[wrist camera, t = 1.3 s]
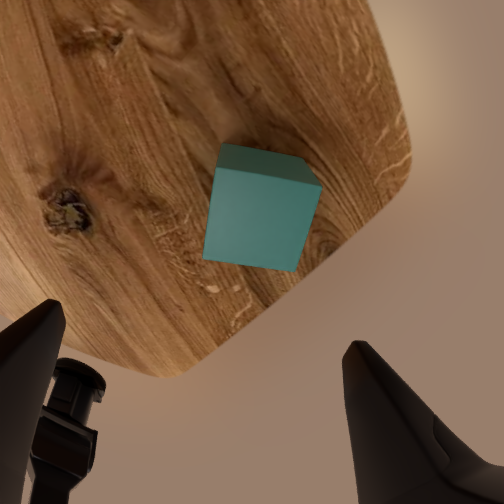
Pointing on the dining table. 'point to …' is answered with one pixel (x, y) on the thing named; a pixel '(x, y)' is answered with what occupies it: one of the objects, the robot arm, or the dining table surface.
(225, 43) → the dining table surface
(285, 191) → the toy cube
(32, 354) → the robot arm
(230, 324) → the dining table surface
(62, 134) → the dining table surface
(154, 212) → the dining table surface
